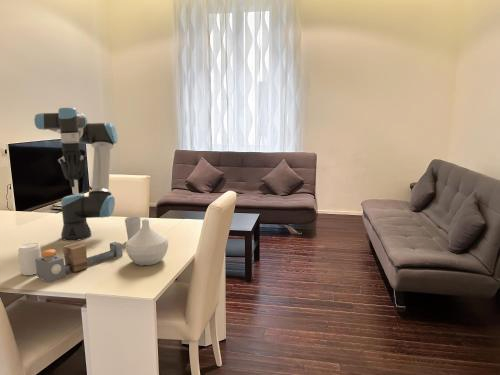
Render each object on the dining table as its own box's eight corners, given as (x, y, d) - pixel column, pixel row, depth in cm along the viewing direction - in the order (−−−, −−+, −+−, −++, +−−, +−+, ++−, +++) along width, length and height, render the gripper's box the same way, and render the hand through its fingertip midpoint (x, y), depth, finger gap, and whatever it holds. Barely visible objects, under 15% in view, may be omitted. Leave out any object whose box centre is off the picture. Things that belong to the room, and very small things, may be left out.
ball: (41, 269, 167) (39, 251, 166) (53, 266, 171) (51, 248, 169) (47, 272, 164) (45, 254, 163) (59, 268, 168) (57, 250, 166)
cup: (137, 243, 211) (136, 220, 209) (123, 242, 213) (121, 220, 211) (144, 238, 219) (143, 216, 217) (130, 238, 220) (129, 216, 218)
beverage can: (26, 269, 177) (23, 243, 175) (46, 268, 178) (43, 242, 176) (17, 277, 169) (14, 249, 167) (38, 275, 170) (34, 248, 168)
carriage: (65, 268, 176) (63, 246, 175) (78, 264, 181) (76, 242, 179) (74, 272, 172) (72, 249, 170) (87, 267, 177) (85, 245, 175)
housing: (37, 277, 168) (35, 259, 166) (54, 272, 173) (52, 254, 172) (49, 282, 162) (46, 263, 161) (66, 277, 168) (64, 258, 166)
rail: (56, 273, 172) (55, 259, 171) (116, 254, 195) (115, 241, 194) (63, 275, 169) (61, 261, 168) (122, 255, 192) (121, 243, 191)
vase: (147, 272, 171) (144, 227, 167) (117, 264, 180) (114, 222, 177) (177, 258, 186) (175, 217, 183) (148, 252, 196) (145, 213, 192)
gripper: (61, 143, 179) (66, 196, 183) (88, 141, 189) (93, 192, 193) (52, 143, 183) (57, 195, 188) (79, 141, 194) (84, 190, 198)
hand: (75, 193), depth 190 cm, fingers closed
